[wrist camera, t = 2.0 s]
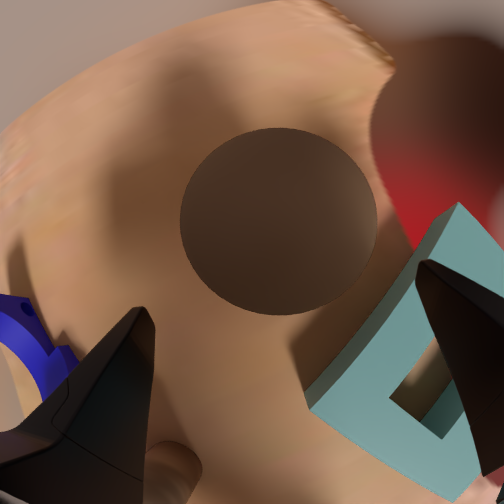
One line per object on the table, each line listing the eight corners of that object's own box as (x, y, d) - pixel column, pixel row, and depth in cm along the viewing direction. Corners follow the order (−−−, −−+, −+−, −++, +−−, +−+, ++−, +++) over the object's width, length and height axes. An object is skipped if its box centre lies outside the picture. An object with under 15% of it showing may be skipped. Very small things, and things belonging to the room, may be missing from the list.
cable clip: (115, 409, 17) (65, 432, 11) (86, 434, 17) (38, 458, 11) (37, 287, 20) (-14, 276, 14) (15, 319, 19) (-34, 314, 13)
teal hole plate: (532, 334, 15) (559, 334, 11) (434, 483, 13) (452, 502, 10) (434, 219, 18) (458, 201, 14) (303, 392, 16) (309, 410, 13)
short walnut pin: (214, 468, 16) (190, 516, 10) (180, 493, 15) (151, 538, 9) (169, 431, 16) (130, 468, 11) (139, 458, 16) (98, 494, 10)
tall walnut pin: (324, 277, 18) (410, 204, 5) (281, 327, 17) (289, 359, 5) (275, 236, 18) (267, 101, 6) (232, 284, 18) (143, 224, 6)
